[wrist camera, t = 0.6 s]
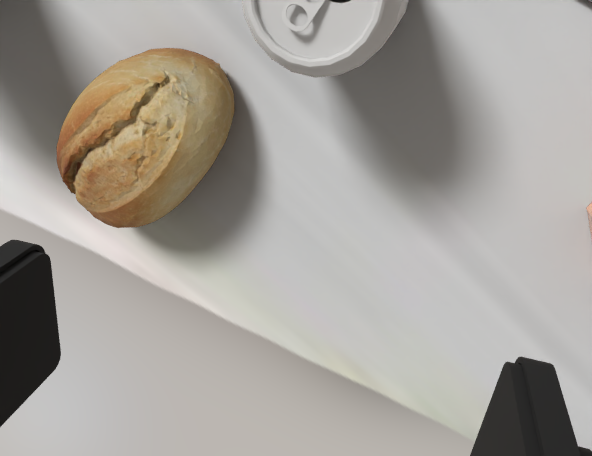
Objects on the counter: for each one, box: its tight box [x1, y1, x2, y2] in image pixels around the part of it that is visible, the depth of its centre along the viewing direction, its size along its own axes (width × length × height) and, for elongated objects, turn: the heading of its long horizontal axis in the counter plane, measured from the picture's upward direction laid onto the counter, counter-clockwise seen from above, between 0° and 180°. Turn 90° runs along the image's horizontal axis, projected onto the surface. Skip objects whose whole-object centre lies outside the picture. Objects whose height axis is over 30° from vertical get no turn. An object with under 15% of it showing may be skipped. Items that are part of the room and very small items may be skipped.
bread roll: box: [56, 48, 235, 228], centre depth 37 cm, size 10×15×8 cm, turn 140°
